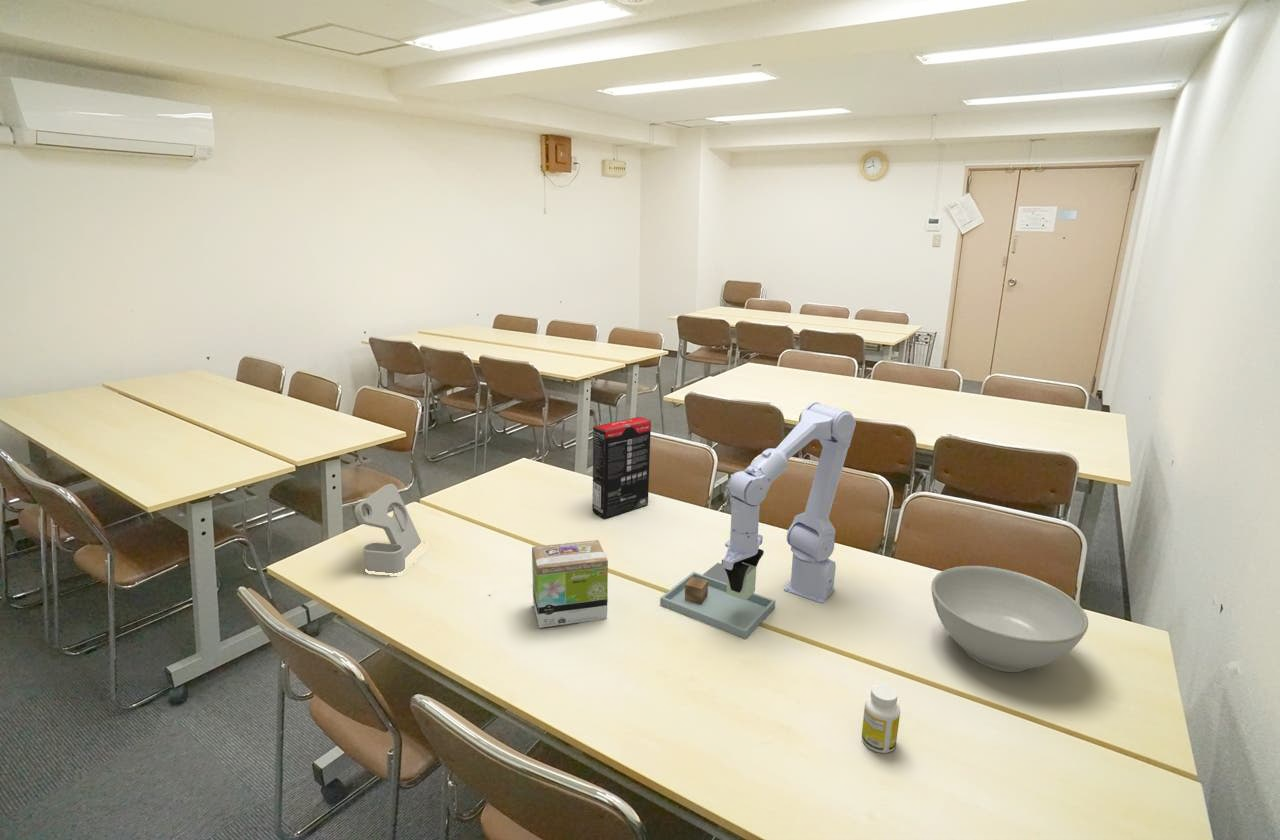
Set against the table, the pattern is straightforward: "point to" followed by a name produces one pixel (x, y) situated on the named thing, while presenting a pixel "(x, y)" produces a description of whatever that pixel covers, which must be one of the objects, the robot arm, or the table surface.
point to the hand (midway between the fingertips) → (741, 585)
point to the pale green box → (745, 584)
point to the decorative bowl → (1007, 617)
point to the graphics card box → (621, 466)
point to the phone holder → (388, 530)
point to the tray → (720, 607)
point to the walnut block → (696, 590)
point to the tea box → (569, 583)
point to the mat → (717, 573)
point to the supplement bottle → (881, 719)
